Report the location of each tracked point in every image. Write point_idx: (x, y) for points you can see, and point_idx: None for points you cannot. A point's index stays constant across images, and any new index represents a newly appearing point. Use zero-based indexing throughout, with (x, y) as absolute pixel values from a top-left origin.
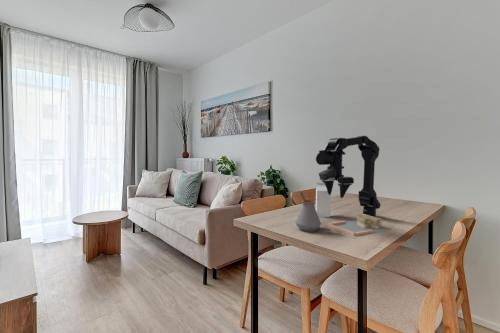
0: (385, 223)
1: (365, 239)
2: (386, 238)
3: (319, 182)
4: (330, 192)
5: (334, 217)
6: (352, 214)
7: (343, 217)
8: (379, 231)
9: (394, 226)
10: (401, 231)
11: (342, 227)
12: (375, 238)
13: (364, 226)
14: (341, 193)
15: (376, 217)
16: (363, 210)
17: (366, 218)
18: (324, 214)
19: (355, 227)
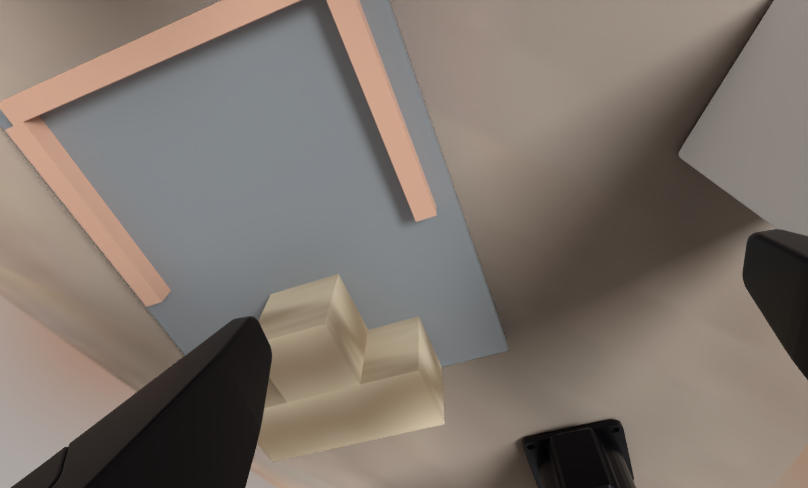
0: (435, 473)
1: (28, 177)
2: (98, 324)
3: None
4: (784, 313)
5: (710, 226)
6: (730, 410)
7: (674, 304)
8: (189, 346)
9: (366, 481)
10: (264, 461)
11: (272, 114)
12: (77, 259)
13: (269, 304)
14: (131, 397)
15: (318, 450)
16: (603, 482)
17: (280, 373)
18: (743, 105)
19: (280, 235)
